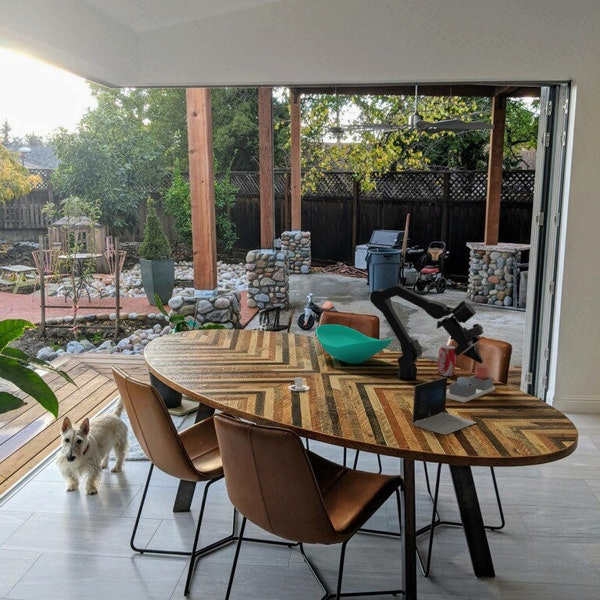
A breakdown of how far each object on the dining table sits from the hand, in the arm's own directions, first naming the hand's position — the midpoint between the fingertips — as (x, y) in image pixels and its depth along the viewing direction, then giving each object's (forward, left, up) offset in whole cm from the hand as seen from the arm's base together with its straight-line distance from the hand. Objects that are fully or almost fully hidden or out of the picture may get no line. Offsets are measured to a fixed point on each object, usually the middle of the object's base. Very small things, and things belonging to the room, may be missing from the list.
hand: (482, 362), depth 245 cm
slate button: (-10, -10, -9) cm, 17 cm away
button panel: (-6, -4, -11) cm, 13 cm away
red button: (0, 0, -7) cm, 7 cm away
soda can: (-7, +22, -11) cm, 26 cm away
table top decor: (-44, +42, -11) cm, 61 cm away
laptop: (-25, -40, -11) cm, 48 cm away
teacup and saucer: (-72, -4, -12) cm, 73 cm away
